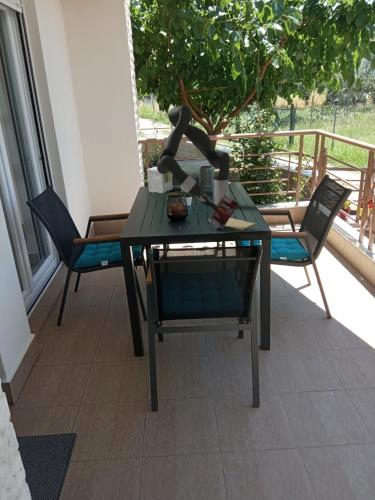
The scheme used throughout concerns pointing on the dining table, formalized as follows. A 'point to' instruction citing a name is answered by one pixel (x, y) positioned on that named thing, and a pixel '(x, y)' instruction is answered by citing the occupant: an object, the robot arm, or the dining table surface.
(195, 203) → the dining table surface
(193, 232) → the dining table surface
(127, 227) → the dining table surface
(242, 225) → the cork placemat
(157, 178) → the supplement box
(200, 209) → the dining table surface
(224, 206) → the supplement box
